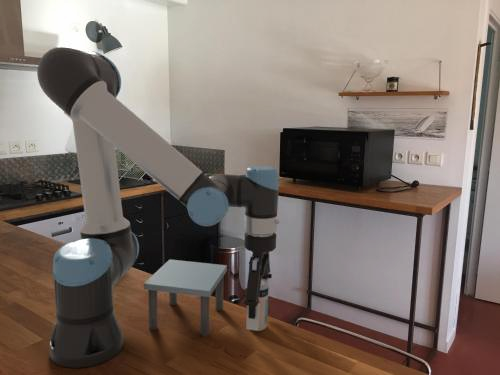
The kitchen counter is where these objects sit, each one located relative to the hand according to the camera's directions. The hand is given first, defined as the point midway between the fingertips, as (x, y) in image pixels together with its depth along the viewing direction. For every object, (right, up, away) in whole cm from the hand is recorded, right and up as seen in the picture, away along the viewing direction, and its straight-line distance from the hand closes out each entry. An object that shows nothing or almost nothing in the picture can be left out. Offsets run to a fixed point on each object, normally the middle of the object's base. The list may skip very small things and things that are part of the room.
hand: (257, 315), depth 105 cm
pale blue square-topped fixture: (-18, -2, +4) cm, 18 cm away
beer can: (0, -3, +1) cm, 3 cm away
